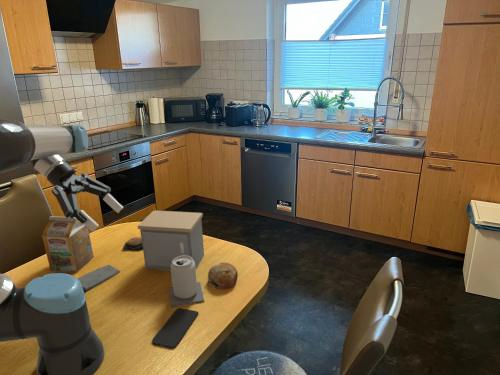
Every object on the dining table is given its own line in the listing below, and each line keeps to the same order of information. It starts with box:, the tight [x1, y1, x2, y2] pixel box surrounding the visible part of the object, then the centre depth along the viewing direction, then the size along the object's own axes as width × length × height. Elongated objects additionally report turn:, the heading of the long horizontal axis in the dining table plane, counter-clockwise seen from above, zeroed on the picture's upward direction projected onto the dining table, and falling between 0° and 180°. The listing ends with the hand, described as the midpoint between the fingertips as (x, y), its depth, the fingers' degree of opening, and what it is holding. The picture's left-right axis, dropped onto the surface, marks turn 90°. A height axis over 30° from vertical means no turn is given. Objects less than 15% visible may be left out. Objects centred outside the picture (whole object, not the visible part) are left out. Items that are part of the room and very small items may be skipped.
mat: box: [169, 281, 205, 308], centre depth 118 cm, size 10×10×1 cm
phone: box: [151, 307, 199, 349], centre depth 104 cm, size 7×1×15 cm
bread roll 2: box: [121, 236, 143, 252], centre depth 149 cm, size 11×8×4 cm
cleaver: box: [77, 264, 120, 294], centre depth 123 cm, size 29×10×2 cm, turn 147°
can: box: [170, 256, 198, 299], centre depth 116 cm, size 8×8×12 cm
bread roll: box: [207, 262, 239, 289], centre depth 124 cm, size 10×10×8 cm
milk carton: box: [41, 215, 95, 274], centre depth 135 cm, size 10×11×19 cm
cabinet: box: [137, 210, 205, 272], centre depth 133 cm, size 14×19×17 cm
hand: (109, 219), depth 113 cm, fingers open, 13 cm apart
